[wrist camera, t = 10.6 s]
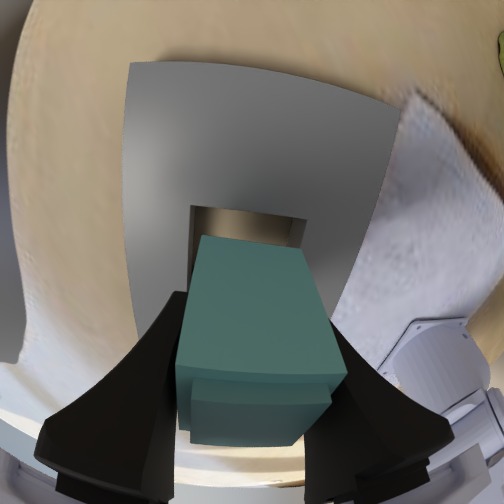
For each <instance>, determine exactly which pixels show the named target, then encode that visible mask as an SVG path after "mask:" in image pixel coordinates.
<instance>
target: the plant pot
mask: <svg viewBox="0 0 504 504" xmlns="http://www.w3.org/2000/svg"><path fill="white" fill-rule="evenodd" d="M498 41H499V43H500V48H501V49H500V55H499V59H500V64H501V67H502V71H503V74H504V32H502V33H501V34H500V37H499V40H498Z"/></svg>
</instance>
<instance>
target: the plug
mask: <svg viewBox="0 0 504 504" xmlns="http://www.w3.org/2000/svg"><path fill="white" fill-rule="evenodd" d="M175 370H176V392H177V409H178V422H179V430H186V431H190V443H193V444H202V445H214V446H230V447H283V446H292V445H293V444H294V443H295V442H296V441H297V440H298V439H299V438H300V437H301V436H302V435H303V434H304V433H305V432H306V431H307V430H308V429H309V428H310V427H311V426H312V425H313V424H314V423H315V421H316V420H317V419H318V418H319V417H320V416H321V415H322V414H323V413H324V412H325V410H326V409H327V408H328V407H329V406H330V405H331V403H332V400H331V396H330V395H331V394H332V393H333V392H334V390H335V389H336V388H337V387H338V385H339V384H340V383H341V381H342V380H343V379H344V377H345V376H346V375H347V370H346V367H345V364H344V361H343V358H342V355H341V352H340V349H339V347H338V344H337V341H336V338H335V335H334V333H333V330H332V327H331V324H330V322H329V319H328V316H327V313H326V311H325V308H324V305H323V303H322V300H321V298H320V295H319V292H318V290H317V287H316V285H315V282H314V280H313V277H312V274H311V272H310V269H309V267H308V264H307V262H306V259H305V257H304V255H303V252H302V250H301V249H298V248H291V247H284V246H278V245H271V244H264V243H257V242H250V241H243V240H236V239H229V238H222V237H215V236H208V235H202V236H201V240H200V244H199V248H198V253H197V257H196V261H195V266H194V270H193V275H192V280H191V284H190V289H189V294H188V299H187V304H186V309H185V314H184V319H183V324H182V329H181V335H180V340H179V346H178V352H177V357H176V363H175Z"/></svg>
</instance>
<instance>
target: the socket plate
mask: <svg viewBox="0 0 504 504" xmlns="http://www.w3.org/2000/svg"><path fill="white" fill-rule="evenodd" d="M400 113H401V110H400V109H398V108H396V107H393V106H391V105H388V104H386V103H383V102H381V101H378V100H376V99H373V98H370V97H367V96H365V95H362V94H359V93H356V92H353V91H350V90H347V89H344V88H341V87H337V86H334V85H330V84H327V83H323V82H320V81H316V80H312V79H308V78H304V77H300V76H295V75H291V74H286V73H281V72H276V71H270V70H265V69H258V68H252V67H245V66H237V65H228V64H218V63H204V62H181V61H155V62H133V63H130V68H129V74H128V82H127V90H126V99H125V110H124V123H123V142H122V206H123V225H124V239H125V250H126V260H127V269H128V277H129V285H130V292H131V299H132V305H133V311H134V317H135V322H136V328H137V333H138V338H139V340H140V339H141V338H142V336H143V335H144V334H145V333H146V331H147V330H148V329H149V327H150V326H151V325H152V323H153V322H154V321H155V319H156V318H157V316H158V315H159V314H160V312H161V311H162V309H163V308H164V306H165V304H166V303H167V301H168V300H169V298H170V296H171V294H172V293H173V292H174V291H183V292H189V289H190V284H191V280H192V275H193V272H192V258H193V239H194V223H195V210H196V206H205V207H214V208H223V209H232V210H240V211H249V212H257V213H264V214H272V215H280V216H287V217H293V221H292V225H291V229H290V233H289V237H288V241H287V245H286V247H291V248H298V249H301V250H302V252H303V255H304V257H305V259H306V262H307V264H308V267H309V269H310V272H311V274H312V277H313V280H314V282H315V285H316V287H317V290H318V292H319V295H320V298H321V300H322V303H323V305H324V308H325V311H326V313H327V316H328V318H329V319H331V317H332V314H333V312H334V310H335V308H336V306H337V303H338V301H339V299H340V297H341V294H342V292H343V290H344V287H345V285H346V283H347V280H348V278H349V276H350V273H351V271H352V268H353V266H354V263H355V261H356V258H357V256H358V253H359V250H360V248H361V245H362V242H363V240H364V237H365V234H366V231H367V229H368V226H369V223H370V220H371V217H372V214H373V211H374V208H375V205H376V202H377V199H378V196H379V193H380V190H381V186H382V183H383V180H384V176H385V173H386V169H387V166H388V162H389V159H390V155H391V151H392V147H393V143H394V139H395V135H396V131H397V127H398V122H399V118H400Z"/></svg>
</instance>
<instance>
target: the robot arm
mask: <svg viewBox="0 0 504 504" xmlns="http://www.w3.org/2000/svg"><path fill="white" fill-rule="evenodd" d="M188 294H189V292H183V291H174V292H173V293H172V294H171V296H170V298H169V300H168V301H167V303H166V304H165V306H164V308H163V309H162V311H161V312H160V314H159V315H158V316H157V318H156V319H155V321H154V322H153V323H152V325H151V326H150V327H149V329H148V330H147V331H146V333H145V334H144V335H143V336H142V338H141V339H140V340H139V341H138V342H137V344H136V345H135V346H134V347H133V348H132V350H131V351H130V352H129V353H128V354H127V355H126V356H125V357H124V358H123V359H122V360H121V361H120V362H119V363H118V364H117V366H115V367H114V368H113V369H112V370H111V371H110V372H109V373H108V374H107V375H106V376H105V377H104V378H103V379H102V380H100V381H99V382H98V383H97V384H96V385H95V386H93V387H92V388H91V389H89V390H88V391H87V392H86V393H84V394H83V395H82V396H80V397H79V398H78V399H77V400H75V401H74V402H72V403H71V404H69V405H68V406H66V407H65V408H63V409H62V410H60V411H58V412H57V413H55V414H54V415H52V416H50V417H49V418H47V419H46V420H45V421H44V424H43V426H42V428H41V430H40V433H39V436H38V440H37V443H36V447H35V451H34V457H35V459H37V460H38V461H39V462H41V463H42V464H44V465H46V466H48V467H49V468H51V469H53V470H55V471H56V472H58V476H57V479H54V478H52V477H50V476H48V475H46V474H44V473H42V472H40V471H38V470H36V469H34V468H32V467H31V466H28V465H27V464H25V463H23V462H21V461H20V460H18V459H17V458H16V457H14V456H13V455H11V454H9V453H8V452H6V451H5V450H3V449H1V448H0V504H168V501H169V500H171V499H172V498H174V452H175V433H176V418H177V392H176V370H175V363H176V357H177V352H178V346H179V340H180V335H181V329H182V324H183V319H184V314H185V309H186V304H187V299H188ZM328 319H329V318H328ZM468 321H469V320H468V319H467V318H459V319H446V320H431V321H415V322H413V323H411V325H410V326H409V327H408V329H407V330H406V332H405V333H404V335H403V336H402V338H401V339H400V341H399V342H398V344H397V345H396V346H395V348H394V349H393V351H392V352H391V353H390V355H389V356H388V357H387V359H386V360H385V361H384V363H383V364H382V365H381V367H380V368H379V369H378V371H376V370H375V369H373V368H372V367H371V366H370V365H369V364H368V363H367V362H366V361H365V360H364V359H363V358H362V357H361V356H360V354H359V353H358V352H357V351H356V350H355V349H354V348H353V347H352V346H351V345H350V343H349V342H348V341H347V340H346V339H345V338H344V336H343V335H342V334H341V333H340V332H339V330H338V329H337V328H336V327H335V326H334V324H333V323H332V322H331V321H330V319H329V322H330V324H331V327H332V330H333V333H334V335H335V338H336V341H337V344H338V347H339V349H340V352H341V355H342V358H343V361H344V364H345V367H346V370H347V375H346V376H345V377H344V379H343V380H342V381H341V383H340V384H339V385H338V387H337V388H336V389H335V390H334V392H333V393H332V394H331V395H330V396H331V400H332V403H331V405H330V406H329V407H328V408H327V409H326V410H325V412H324V413H323V414H322V415H321V416H320V417H319V418H318V419H317V420H316V421H315V423H314V424H313V425H312V426H311V427H310V428H309V429H308V430H307V431H306V432H305V433H304V446H305V494H304V501H305V504H327V503H332V502H334V504H504V396H503V395H502V393H501V391H500V389H498V388H493V387H492V388H490V389H489V390H488V391H487V389H488V386H489V383H490V368H489V364H488V362H487V360H486V359H485V357H484V355H483V354H482V352H481V351H480V349H479V347H478V346H477V344H476V343H475V341H474V340H473V338H472V337H471V335H470V334H469V332H468V331H467V329H466V328H465V326H466V325H467V323H468ZM391 374H396V376H397V379H398V381H399V383H400V386H401V388H402V390H403V393H402V392H401V391H400V390H398V389H397V388H396V387H394V386H393V385H392V384H391V383H389V382H388V381H387V380H386V379H385V378H383V377H382V376H384V375H391Z"/></svg>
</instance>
